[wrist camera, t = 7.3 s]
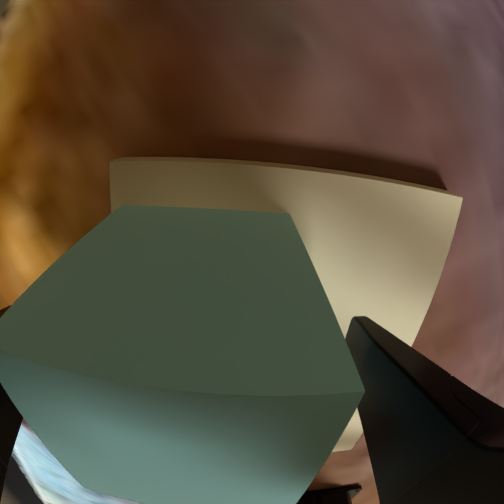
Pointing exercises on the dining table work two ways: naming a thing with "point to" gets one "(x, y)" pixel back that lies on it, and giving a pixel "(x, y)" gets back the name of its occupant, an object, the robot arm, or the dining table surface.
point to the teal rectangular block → (183, 358)
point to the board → (322, 229)
